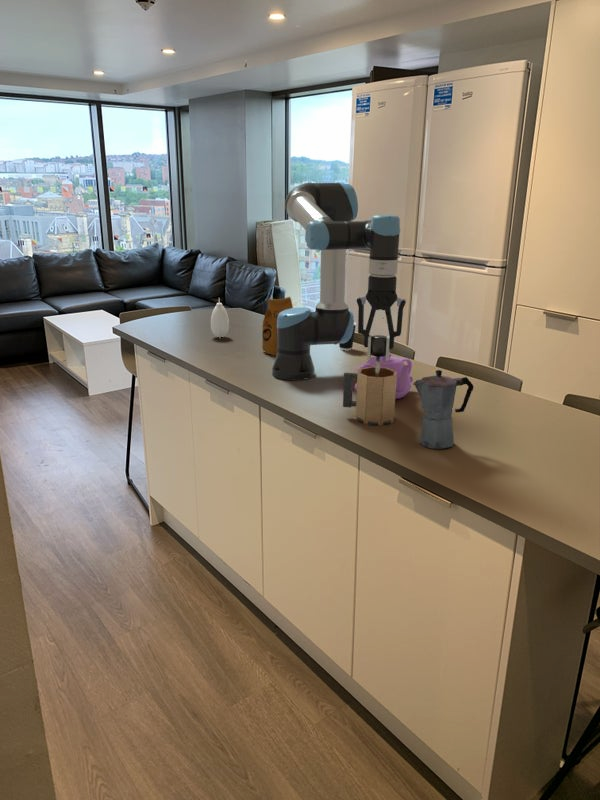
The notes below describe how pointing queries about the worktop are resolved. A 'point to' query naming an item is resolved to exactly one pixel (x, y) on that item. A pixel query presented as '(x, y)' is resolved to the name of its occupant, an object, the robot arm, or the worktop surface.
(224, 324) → the sauce bottle
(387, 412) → the wooden slat mug
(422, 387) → the moka pot
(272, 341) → the coffee package
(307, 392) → the worktop surface
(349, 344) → the dixie cup
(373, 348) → the plunger
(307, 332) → the robot arm
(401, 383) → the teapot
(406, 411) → the worktop surface
